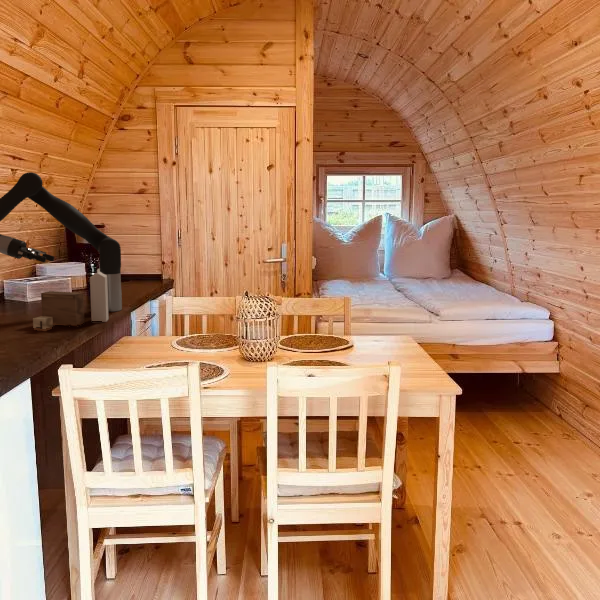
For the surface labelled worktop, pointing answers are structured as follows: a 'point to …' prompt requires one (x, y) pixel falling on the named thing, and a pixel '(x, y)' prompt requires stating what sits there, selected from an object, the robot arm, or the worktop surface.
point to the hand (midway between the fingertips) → (49, 259)
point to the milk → (99, 297)
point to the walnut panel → (63, 307)
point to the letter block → (42, 322)
